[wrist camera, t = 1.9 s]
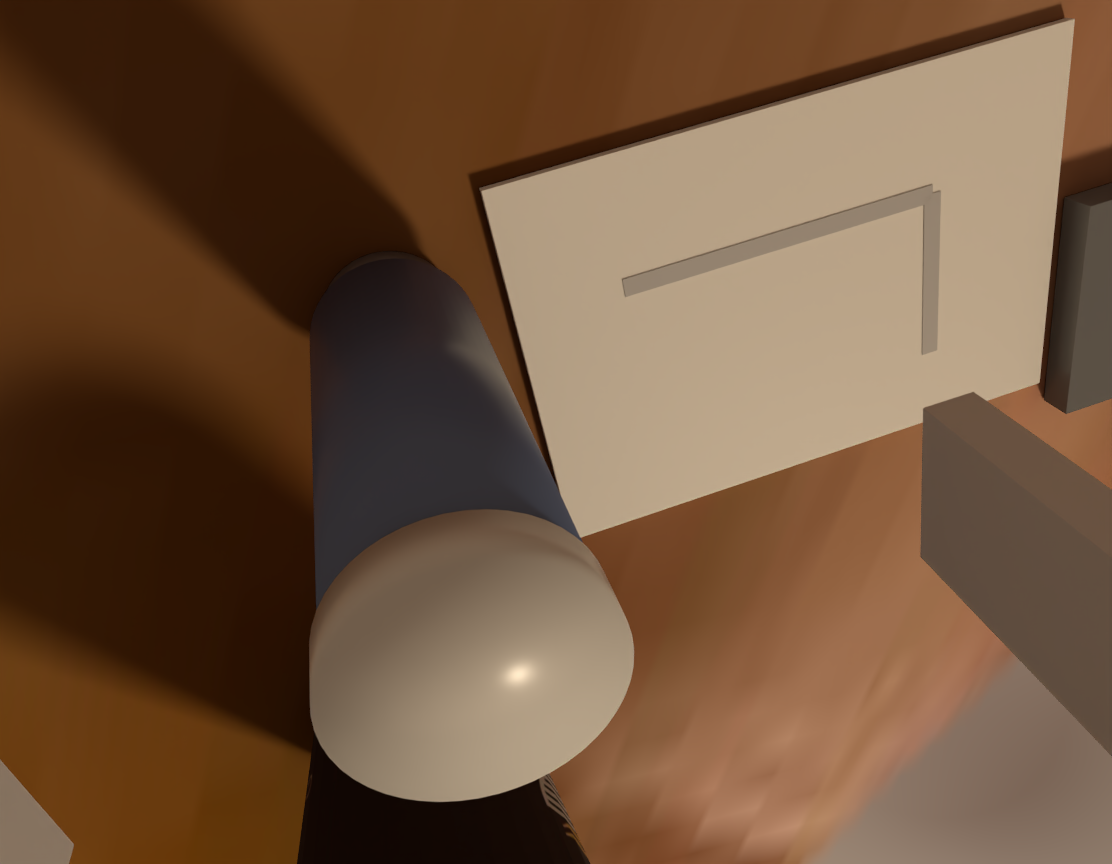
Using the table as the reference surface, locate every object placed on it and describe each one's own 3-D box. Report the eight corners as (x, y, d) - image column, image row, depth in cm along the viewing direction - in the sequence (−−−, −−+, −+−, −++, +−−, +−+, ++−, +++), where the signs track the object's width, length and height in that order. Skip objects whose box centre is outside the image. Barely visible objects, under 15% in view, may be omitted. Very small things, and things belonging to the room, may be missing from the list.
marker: (338, 410, 23) (373, 839, 12) (278, 263, 21) (255, 627, 10) (490, 363, 24) (655, 737, 13) (447, 214, 21) (603, 510, 10)
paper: (569, 534, 27) (573, 540, 27) (479, 187, 21) (481, 191, 21) (1033, 379, 29) (1040, 383, 28) (1066, 17, 23) (1075, 18, 23)
